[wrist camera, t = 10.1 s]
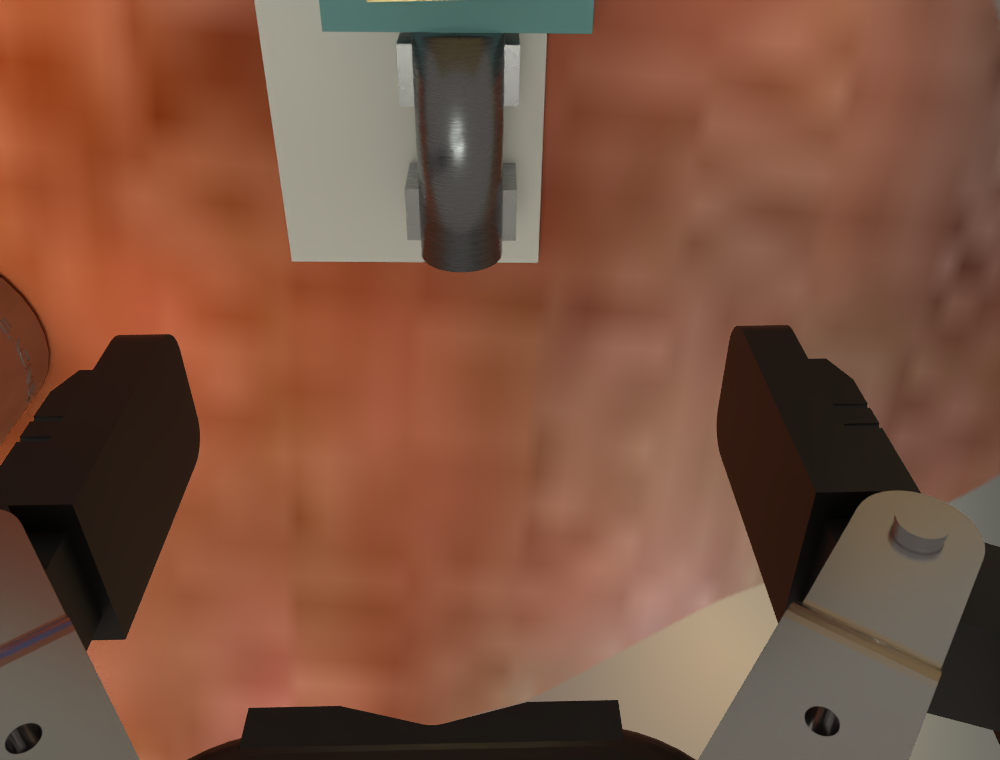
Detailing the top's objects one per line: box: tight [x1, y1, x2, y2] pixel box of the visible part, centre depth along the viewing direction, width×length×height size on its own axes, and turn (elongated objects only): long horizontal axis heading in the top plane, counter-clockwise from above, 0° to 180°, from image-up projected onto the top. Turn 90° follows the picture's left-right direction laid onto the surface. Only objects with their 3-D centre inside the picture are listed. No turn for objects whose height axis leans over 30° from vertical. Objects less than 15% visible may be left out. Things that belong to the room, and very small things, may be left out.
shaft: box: [396, 32, 520, 272], centre depth 31 cm, size 8×4×4 cm, turn 179°
